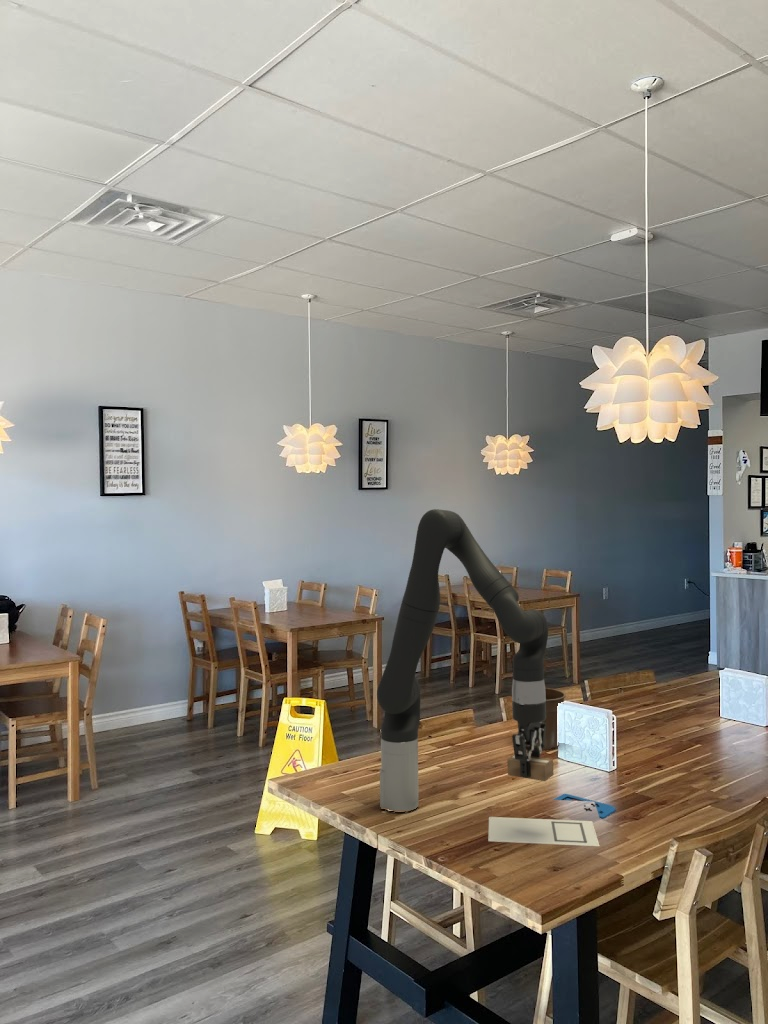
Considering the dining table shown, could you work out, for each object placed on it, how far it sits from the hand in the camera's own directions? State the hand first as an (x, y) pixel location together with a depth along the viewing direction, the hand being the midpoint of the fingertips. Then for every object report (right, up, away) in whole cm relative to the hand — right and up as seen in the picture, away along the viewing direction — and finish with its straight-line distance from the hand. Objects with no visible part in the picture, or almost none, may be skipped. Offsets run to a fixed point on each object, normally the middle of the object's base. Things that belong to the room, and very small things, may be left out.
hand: (530, 773), depth 185 cm
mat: (+3, -14, +1) cm, 14 cm away
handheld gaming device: (+16, -14, +17) cm, 27 cm away
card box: (0, 0, 0) cm, 0 cm away
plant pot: (+15, -13, +68) cm, 71 cm away
